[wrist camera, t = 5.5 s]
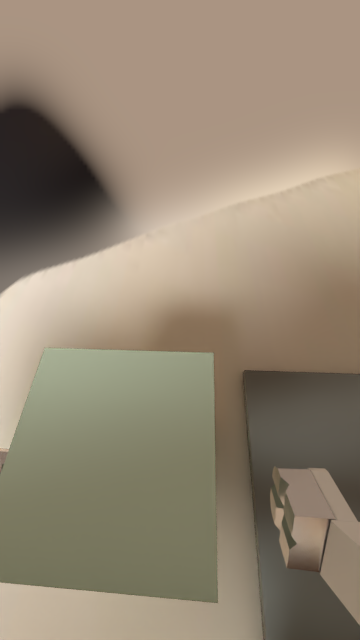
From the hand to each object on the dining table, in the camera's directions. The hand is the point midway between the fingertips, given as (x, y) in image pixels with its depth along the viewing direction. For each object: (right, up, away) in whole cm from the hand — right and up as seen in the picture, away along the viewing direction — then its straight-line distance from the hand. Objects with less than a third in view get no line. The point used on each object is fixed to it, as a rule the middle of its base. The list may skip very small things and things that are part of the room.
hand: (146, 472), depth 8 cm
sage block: (0, -3, +6) cm, 6 cm away
